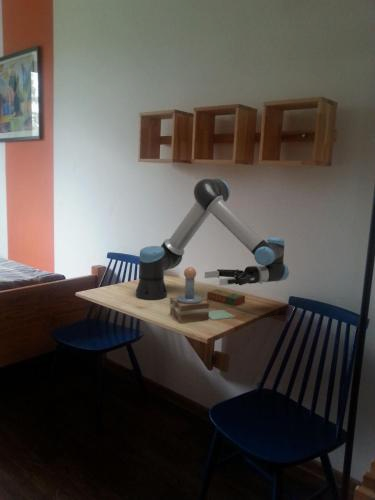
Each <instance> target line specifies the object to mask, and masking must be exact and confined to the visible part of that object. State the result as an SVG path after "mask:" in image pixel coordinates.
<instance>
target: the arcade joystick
mask: <svg viewBox="0 0 375 500" xmlns="http://www.w3.org/2000/svg"><path fill="white" fill-rule="evenodd" d="M183 275H184V277H185V286H184V287H185V288H184V290H185V291H184V292H185V294H182V295H181V294H179V295H178V296H177V301H178V302H179V303H183V304H198V303H200V302H201V301H202V299H203V298H202V297H201V296H200V295H197V294H195V278H196V276H197V271H196V269H195V268H194V267H192V266H188V267H187V268H185V269H184V271H183Z"/></svg>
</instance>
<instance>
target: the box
mask: <svg viewBox="0 0 375 500" xmlns="http://www.w3.org/2000/svg"><path fill="white" fill-rule="evenodd" d="M177 297H178V296H177ZM177 297H176V296H175V297H170V302H169V307H170V308H169V314H170V315H171V316H172V317H173V318H174V319H175V320H176V321H178V323H180V324H186V323H194V322H195V323H196V322H203V321H204V322H205V321H209V319H210V318H209V311H210V303H209V302H208V301H206V300H205V299H204V298H202V301H201V302H200V303H198V304H183V303H179V302H178V301H177Z"/></svg>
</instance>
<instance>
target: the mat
mask: <svg viewBox="0 0 375 500" xmlns="http://www.w3.org/2000/svg"><path fill="white" fill-rule="evenodd" d="M208 319H210V320H212V321H218V320H226V319H235V315H233V314H231V313H229V312H228V311H226V310H225V309H217V310H209V318H208Z"/></svg>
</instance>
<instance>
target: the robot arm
mask: <svg viewBox="0 0 375 500" xmlns="http://www.w3.org/2000/svg"><path fill="white" fill-rule="evenodd" d="M193 196H194V200H195V203H194V204H193V206H192V207H191V208H190V209H189V211H188V213H187V214H186V215H185V217H184V218H183V219H182V221H181V222H180V224H179V225H178V226H177V228H176V229H175V230H174V232H173V234H172V235H171V236H170V238H166V239H165V240H164V241H163V242H162V244H161V246H160V245H150V246H145V247H142V248H141V249H140V251H139V256H138V258H139V280H138V284H137V287H136V290H135V297H136V298H138V299H140V300H141V299H142V300H147V301H153V300H154V301H155V300H162V299H165V298H167V297H168V289H167V285H166V283H165V279H164V278H165V271H168V270H172V269H174V268H176V267H178V266H179V265H180V264H181V262H182V261H183V256H184V254H185V248H186V247H187V245H188V244H189V242H190V241H191V240H192V238H193V237H194V236H195V234H196V233H197V232H198V230H199V229H200V227H201V226H202V225H203V224H204V222H205V221H206V219H207V218H208V217H209V215H210V214H211V215H212V216H213V217H215V219H216V220H218V221H219V222H220V223H221V224H222V225H223V226H224V227H225V228H226V229H227V231H228V232H230V233H231V234H232V235H233V236H234V237H235V238H236V239H237V240H238V241H239V242H240V244H242V245H243V246H244V247H245V248H246V249H247V250H248V251H249V252H250V253H251V254H252V255H253V256H254V260H255V262H256V264H258V265H250V266H249V265H248V266H246V267H245V269H244V270H243V269H242V270H241V269H238V268H237V269H223V268H222V269H217V270H210V271H204V279H211V278H218V279H219V286H220V287H221V286H230V285H239V286H243V285H247V284H250V285H251V284H261V285H262V284H263V283H269V282H270V283H271V282H282V281H285V280H287V279H288V278H289V275H290V270H289V267H288V266H287V264H285V263H284V259H285V248H286V246H285V239H284V238H282V237H275V236H274V237H268V238H267V240H265V239H264V238H263V237H262V236H261V235H260V234H259V233H258V231H256V230H255V229H253V227H251V226H250V224H249V223H248V222H246V221H245V220H244V219H243V218H242V217H241V216H240V215H239V214H238V213H237V212H236V211H235V210H234V209H233V208H232V207H231V206H230V205H229V204H228V203H227V201H228V200H229V198H230V196H231V190H230V187H229V185H228V183H227V182H226V181H225V180H223V179H220V178H203V179H201V180H199V181H198V182H197V183H196V184H195V186H194V188H193ZM220 277H222V278H220Z"/></svg>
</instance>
